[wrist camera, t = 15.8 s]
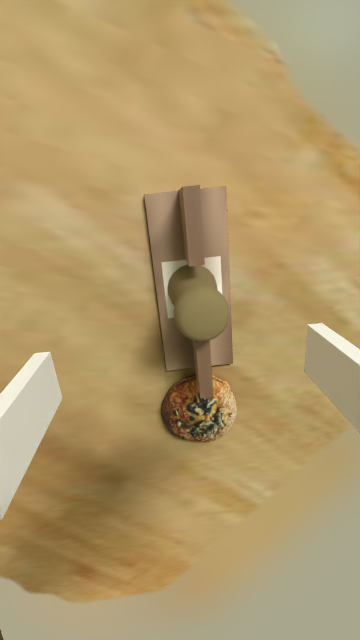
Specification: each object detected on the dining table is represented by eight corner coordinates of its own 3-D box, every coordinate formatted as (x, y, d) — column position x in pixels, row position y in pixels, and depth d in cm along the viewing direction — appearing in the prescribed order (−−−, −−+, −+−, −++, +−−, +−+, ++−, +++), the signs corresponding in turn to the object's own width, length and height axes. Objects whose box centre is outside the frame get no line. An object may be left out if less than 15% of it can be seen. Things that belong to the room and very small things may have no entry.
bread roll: (144, 411, 44) (147, 433, 39) (195, 354, 43) (204, 369, 38) (200, 447, 47) (208, 471, 42) (247, 395, 46) (262, 413, 41)
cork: (200, 253, 35) (216, 272, 25) (225, 295, 37) (250, 329, 27) (157, 281, 36) (156, 310, 26) (184, 320, 38) (192, 362, 28)
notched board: (166, 367, 41) (167, 402, 34) (144, 194, 34) (139, 191, 26) (231, 360, 41) (246, 393, 34) (224, 186, 34) (242, 180, 26)
